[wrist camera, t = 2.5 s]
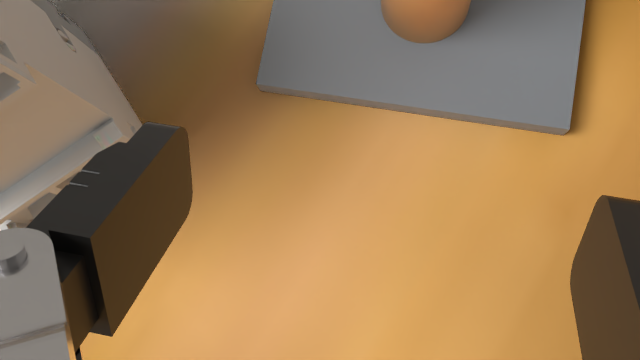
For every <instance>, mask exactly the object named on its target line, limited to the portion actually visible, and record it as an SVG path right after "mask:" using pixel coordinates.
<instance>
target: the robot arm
mask: <svg viewBox="0 0 640 360" xmlns="http://www.w3.org/2000/svg"><path fill="white" fill-rule="evenodd" d="M191 202H192V178H191V167H190V155H189V144H188V135H187V132H186V130H185V129H184V128H183V127H177V126H171V125H165V124H158V123H152V122H146V123H144V124H143V125H142V126H141V128H140V129H139V130H138V131H137V132H136V133H135V134H134V135H133V136H132V138H131V139H130V140H129V141H128V142H127V143H124V142H117V143H115V144H113V145H111V146H110V147H108V148H106V149H104V150H102V151H100V152H98V153H96V154H95V155H94V157H93V158H92V159H91V160H90V161H89V162H88V163H87V164H86V165H85V166H84V167H83V168H82V171H81V172H78V173H77V174H76V175H75V176H74V177H73V179H72V180H71V181H70V184H69V185H66V186H65V187H64V188H63V189H62V190H61V191H60V192H59V193H58V194H57V195H56V196H55V197H54V198H53V200H52V201H51V202H50V203H49V204H48V205H47V206H46V207H45V208H44V209H43V210H42V211H41V212H40V213H39V214H38V215H37V216H36V217H35V218H34V219H33V220H32V222H31V223H30V224H29V225H28V226H27V227H26V228H12V229H6V230H2V231H0V360H83V354H82V351H81V347H80V345H81V344H82V342H83V341H84V339H85V338H86V336H87V335H88V333H89V332H92V333H97V334H101V335H106V336H111V337H112V336H113V334H114V333H115V331H116V330H117V328H118V326H119V325H120V323H121V322H122V320H123V318H124V317H125V315H126V314H127V312H128V310H129V309H130V307H131V306H132V304H133V302H134V301H135V299H136V298H137V296H138V295H139V293H140V291H141V290H142V288H143V287H144V285H145V283H146V282H147V280H148V279H149V277H150V275H151V274H152V272H153V271H154V269H155V267H156V266H157V264H158V263H159V261H160V260H161V258H162V256H163V255H164V253H165V252H166V250H167V248H168V247H169V245H170V244H171V242H172V240H173V239H174V237H175V236H176V234H177V232H178V231H179V229H180V228H181V226H182V225H183V223H184V221H185V220H186V218H187V216H188V213H189V210H190V207H191ZM570 287H571V295H572V301H573V306H574V312H575V318H576V324H577V330H578V336H579V342H580V347H581V353H582V359H583V360H640V201H637V200H631V199H624V198H618V197H612V196H606V195H602V196H601V197H600V198H599V199H598V200H597V202H596V204H595V207H594V209H593V212H592V214H591V217H590V219H589V222H588V224H587V227H586V229H585V232H584V234H583V237H582V239H581V242H580V244H579V247H578V250H577V252H576V255H575V257H574V261H573V265H572V270H571V279H570Z"/></svg>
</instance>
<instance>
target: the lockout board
mask: <svg viewBox="0 0 640 360" xmlns="http://www.w3.org/2000/svg"><path fill="white" fill-rule="evenodd" d="M585 3H586V0H471V2H470V6H469V9H468V13H467V16H466V18H465V20H464V22H463V23H462V25H461V26H460V27H459V28H458V29H457V30H456V31H455V32H454V33H453V34H452V35H450V36H449V37H447V38H445V39H443V40H440V41H437V42H433V43H415V42H411V41H408V40H405V39H403V38H401V37H400V36H398V35H397V34H395V33H394V32H393V31H392V30H391V29H390V28H389V26H388V25H387V23H386V22H385V20H384V18H383V15H382V10H381V0H274V1H273V5H272V10H271V15H270V20H269V24H268V29H267V34H266V39H265V43H264V48H263V53H262V57H261V62H260V67H259V72H258V76H257V81H256V85H257V86H258V88H259V89H260V91H265V92H272V93H278V94H285V95H292V96H299V97H306V98H312V99H319V100H326V101H333V102H339V103H346V104H353V105H360V106H367V107H373V108H380V109H387V110H394V111H400V112H407V113H414V114H421V115H428V116H434V117H441V118H448V119H455V120H461V121H468V122H475V123H482V124H489V125H495V126H502V127H509V128H516V129H522V130H529V131H536V132H543V133H550V134H556V135H564V134H565V133H566V132H568V131H569V130H570V122H571V114H572V106H573V98H574V90H575V82H576V74H577V67H578V59H579V51H580V43H581V35H582V27H583V19H584V11H585Z"/></svg>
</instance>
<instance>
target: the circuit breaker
mask: <svg viewBox="0 0 640 360" xmlns="http://www.w3.org/2000/svg"><path fill="white" fill-rule="evenodd" d="M141 126H142V123H141V121H140V120H139V118H138V117H137V115H136V113H135V112H134V110H133V109H132V107H131V106H130V104H129V102H128V101H127V99H126V98H125V96H124V94H123V93H122V91H121V90H120V88H119V86H118V85H117V83H116V82H115V80H114V79H113V77H112V75H111V74H110V72H109V71H108V69H107V67H106V66H105V64H104V63H103V61H102V59H101V58H100V56H99V55H98V53H97V52H96V50H95V48H94V47H93V45H92V44H91V42H90V40H89V39H88V37H87V36H86V34H85V32H84V31H83V30H82V29H81V28H80V27H79V26H77V25H76V24H75V23H74V22H73V21H72V20H70V19H69V18H68V17H67V16H66V15H65V14H62V15H61V16H59V15H58V12H57V9H56V7H55V6H54V5H53V4H52V3H50V2H49V1H48V0H0V230H1V231H2V230H6V229H12V228H26V227H27V226H28V225H29V224H30V223H31V222H32V220H33V219H34V218H35V217H36V216H37V215H38V214H39V213H40V212H41V211H42V210H43V209H44V208H45V207H46V206H47V205H48V204H49V203H50V202H51V201H52V200H53V198H54V197H55V196H56V195H57V194H58V193H59V192H60V191H61V190H62V189H63V188H64V187H65V186H66V185H69V184H70V181H71V180H72V179H73V177H74V176H75V175H76V174H77V173H78V172H81V171H82V168H83V167H84V166H85V165H86V164H87V163H88V162H89V161H90V160H91V159H92V158H93V157H94V155H95V154H96V153H98V152H100V151H102V150H104V149H106V148H108V147H110V146H111V145H113V144H115V143H117V142H124V143H127V142H128V141H129V140H130V139H131V138H132V136H133V135H134V134H135V133H136V132H137V131H138V130H139V129H140V128H141Z"/></svg>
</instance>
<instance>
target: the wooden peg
mask: <svg viewBox="0 0 640 360" xmlns="http://www.w3.org/2000/svg"><path fill="white" fill-rule="evenodd" d="M470 2H471V0H381V10H382V15H383V18H384V20H385V22H386V23H387V25H388V26H389V28H390V29H391V30H392V31H393V32H394V33H395V34H397V35H398V36H400V37H401V38H403V39H405V40H408V41H411V42H415V43H433V42H437V41H440V40H443V39H445V38H447V37H449V36H450V35H452V34H453V33H454V32H455V31H456V30H457V29H458V28H459V27H460V26H461V25H462V23H463V22H464V20H465V18H466V16H467V13H468V9H469V6H470Z"/></svg>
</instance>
